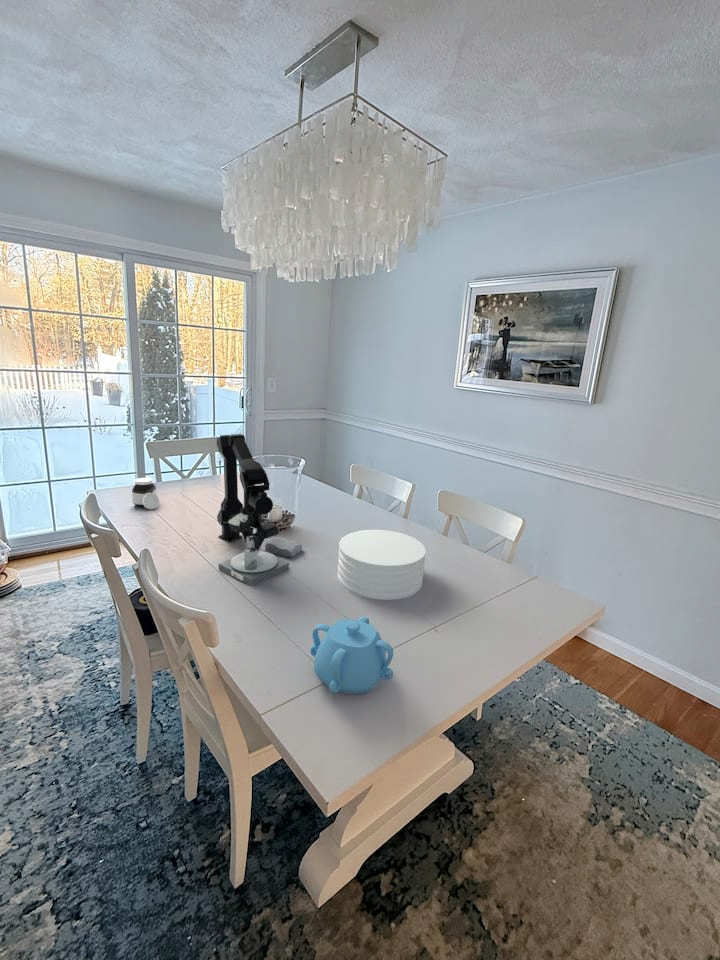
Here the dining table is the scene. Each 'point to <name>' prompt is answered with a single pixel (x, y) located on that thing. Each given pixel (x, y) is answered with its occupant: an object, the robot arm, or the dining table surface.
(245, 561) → the cylinder
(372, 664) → the decorative pot
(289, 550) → the stone block
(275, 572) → the scale
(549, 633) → the dining table surface
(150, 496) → the spread jar
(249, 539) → the cylinder
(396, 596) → the plate stack
